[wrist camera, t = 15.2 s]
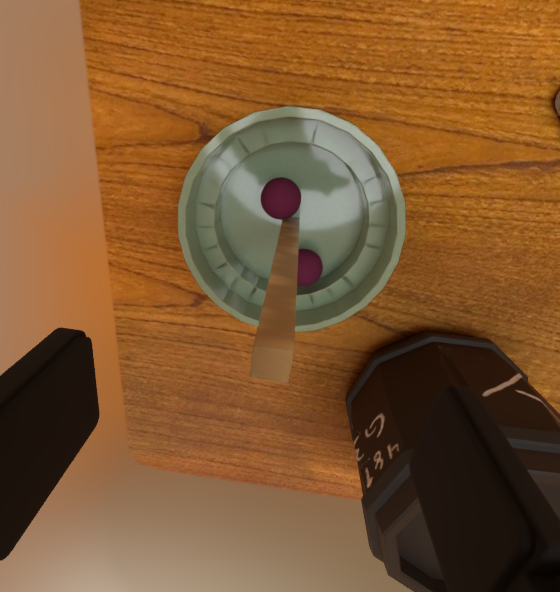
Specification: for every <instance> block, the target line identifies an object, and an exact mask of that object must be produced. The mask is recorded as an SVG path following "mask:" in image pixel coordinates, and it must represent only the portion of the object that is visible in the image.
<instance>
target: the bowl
mask: <svg viewBox="0 0 560 592" xmlns="http://www.w3.org/2000/svg"><path fill="white" fill-rule="evenodd" d="M278 177H283V178H288V179H290V180H292V181H293V182H294V183H295V184H296V185H297V186H298V188H299V190H300V192H301V204H300V207H299V209H298V211H297V212H296V213H295V214H294V215H293V216H292V217H297V218H300V227H299V249H310V250H312V251H314V252H315V253H317V254H318V255H319V257H320V258H321V260H322V264H323V271H322V274H321V276H320V278H319V279H318V281H317V282H315V283H314V284H312V285H310V286H298V285H297V296H296V319H295V332H303V331H313V330H319V329H321V328H324V327H327V326H330V325H333V324H336V323H339V322H341V321H343V320H345V319H347V318H348V317H350V316H351V315H353V314H354V313H356V312H358V311H359V310H361V309H362V308H364V307H365V306H366V305H367V304H368V303H369V302H370V301H371V300H372V299H373V298H374V297H375V296H376V295H377V294H378V293H379V292H380V291H381V290H382V289H383V288H384V286H385V284H386V283H387V281H388V279H389V277H390V276H391V274H392V272H393V270H394V269H395V267H396V265H397V263H398V261H399V257H400V253H401V249H402V246H403V242H404V238H405V233H406V216H405V200H404V197H403V193H402V190H401V187H400V183H399V180H398V176H397V174H396V171H395V170H394V168H393V167H392V165H391V164H390V162H389V161H388V159H387V157H386V156H385V154H384V153H383V151H382V150H381V148H380V147H379V146H378V144H377V143H375V142H374V141H373V140H372V139H371V138H369V137H368V136H367V135H366V134H365V133H364V132H362V131H361V130H360V129H359V128H358V127H357V126H355V125H354V124H352V123H351V122H348V121H346V120H344V119H342V118H339V117H337V116H335V115H332V114H330V113H328V112H326V111H323V110H319V109H310V108H302V107H293V106H284V107H279V108H273V109H268V110H262V111H257V112H255V113H251V114H249V115H247V116H245V117H243V118H241V119H240V120H238V121H236V122H234V123H232V124H230V125H228V126H226V127H225V128H223V129H222V130H221V131H220V132H219V133H218V134H217V135H216V136H215V137H214V138H213V139H211V140H210V141H209V142H208V143H207V144H206V145H205V146H204V147H203V148H202V149H201V151H200V152H199V154H198V156H197V157H196V159H195V161H194V162H193V164H192V166H191V168H190V169H189V171H188V173H187V174H186V177H185V179H184V183H183V187H182V191H181V195H180V199H179V203H178V235H179V236H178V237H179V240H180V244H181V248H182V251H183V255H184V258H185V262H186V264H187V266H188V268H189V269H190V271H191V273H192V275H193V276H194V278H195V280H196V281H197V283H198V285H199V286H200V288H201V289H202V290H203V291H204V292H205V293H206V294H207V295H208V296H209V297H210V298H211V299H212V300H213V302H214V303H215V304H216V305H217V306H219V307H220V308H222V309H223V310H225V311H226V312H228V313H229V314H231V315H232V316H234V317H235V318H237V319H238V320H241V321H242V322H245V323H248V324H251V325H253V326H256V327H258V325H259V320H260V316H261V312H262V307H263V303H264V299H265V294H266V290H267V286H268V281H269V277H270V272H271V268H272V264H273V259H274V255H275V251H276V246H277V242H278V238H279V233H280V229H281V225H282V220H283V219H282V220H280V219H275V218H272V217H270V216H269V215H268V214H267V213H266V212H265V211H264V209H263V207H262V205H261V192H262V190H263V188H264V186H265V185H266V184H267V183H268V182H269V181H270V180H272V179H274V178H278Z"/></svg>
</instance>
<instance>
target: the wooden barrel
mask: <svg viewBox="0 0 560 592" xmlns="http://www.w3.org/2000/svg"><path fill="white" fill-rule="evenodd" d="M449 385H454V386H461V387H468V388H472V389H474V390H475V391H476V393H477V394H478V396H479V397H480V399H481V400H482V402H483V403H484V405H485V406H486V408H487V409H488V411H489V412H490V414H491V415H492V417H493V418H494V420H495V422H496V423H497V425H498V426H499V428H500V429H501V431H502V432H503V434H504V435H505V437H506V438H507V440H508V441H509V443H510V444H511V446H512V447H513V449H514V451H515V452H516V454H517V455H518V457H519V458H520V460H521V461H522V463H523V464H524V466H525V467H526V469H527V470H528V472H529V473H530V475H531V476H532V478H533V479H534V481H535V483H536V484H537V486H538V487H539V489H540V490H541V492H542V493H543V495H544V496H545V498H546V499H547V501H548V502H549V504H550V505H551V507H552V508H553V510H554V512H555V513H556V515H557V516H558V518H559V519H560V415H559V414H558V412H557V411H556V410H555V409H554V408H553V407H552V406H551V405H550V404H549V403H548V402H547V401H546V400H545V399H544V398H543V397H542V396H541V395H540V394H539V393H538V392H537V391H536V390H535V389H534V388H533V387H532V386H531V385H530V384H529V383H528V377H527V376H526V375H525V374H524V373H523V372H522V371H521V370H520V369H519V368H518V367H517V366H516V365H515V364H514V363H513V362H512V361H511V360H510V359H509V358H508V357H507V356H506V355H505V354H504V353H503V352H502V351H501V350H500V349H499V348H498V347H497V346H496V345H495V344H494V343H493V342H492V341H490V340H488V339H485V338H477V337H473V336H465V335H456V334H448V333H440V332H432V331H421V332H419V333H416V334H414V335H411V336H409V337H407V338H404V339H402V340H400V341H397V342H395V343H392V344H390V345H388V346H385V347H383V348H380V349H378V350H377V351H376V352H375V353H374V355H373V356H372V358H371V359H370V361H369V362H368V364H367V365H366V367H365V368H364V369H363V371H362V372H361V374H360V375H359V377H358V378H357V380H356V381H355V383H354V384H353V386H352V387H351V388H350V390H349V391H348V393H347V395H346V405H347V411H348V417H349V423H350V428H351V434H352V439H353V441H354V445H355V451H356V457H357V463H358V469H359V475H360V480H361V486H362V492H363V497H362V499H361V501H362V507H363V513H364V518H365V524H366V530H367V535H368V541H369V546H370V549H371V551H372V553H373V555H374V557H376V558H378V559H379V560H381V561H382V562H384V565H385V568H386V570H387V573H388V575H389V576H391V577H392V578H394V579H395V580H397V581H398V582H400V583H401V584H403V585H404V586H406V587H408V588H409V589H411V590H412V591H414V592H448V591H447V588H446V585H445V582H444V578H443V575H442V572H441V569H440V566H439V563H438V559H437V556H436V553H435V550H434V547H433V544H432V540H431V537H430V534H429V531H428V528H427V524H426V521H425V518H424V515H423V512H422V509H421V505H420V502H419V499H418V496H417V493H416V490H415V486H414V483H413V480H412V477H411V474H410V468H409V462H410V458H411V455H412V453H413V451H414V448H415V446H416V444H417V441H418V439H419V437H420V435H421V432H422V430H423V428H424V425H425V423H426V421H427V418H428V416H429V414H430V411H431V409H432V407H433V404H434V402H435V400H436V398H437V395H438V393H439V391H440V390H445V389H446V387H448V386H449Z"/></svg>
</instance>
